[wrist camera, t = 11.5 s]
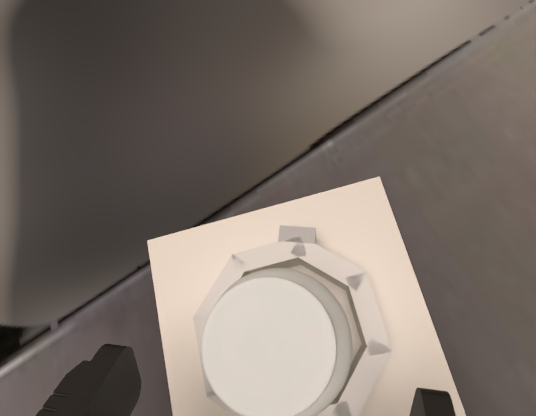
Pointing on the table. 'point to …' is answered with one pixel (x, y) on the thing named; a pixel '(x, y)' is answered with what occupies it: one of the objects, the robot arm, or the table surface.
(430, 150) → the table surface
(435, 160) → the table surface
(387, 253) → the socket base
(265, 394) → the supplement bottle
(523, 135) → the table surface
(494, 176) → the table surface
